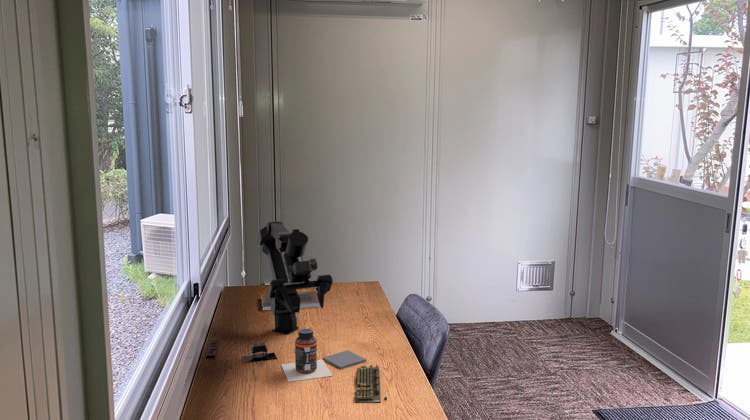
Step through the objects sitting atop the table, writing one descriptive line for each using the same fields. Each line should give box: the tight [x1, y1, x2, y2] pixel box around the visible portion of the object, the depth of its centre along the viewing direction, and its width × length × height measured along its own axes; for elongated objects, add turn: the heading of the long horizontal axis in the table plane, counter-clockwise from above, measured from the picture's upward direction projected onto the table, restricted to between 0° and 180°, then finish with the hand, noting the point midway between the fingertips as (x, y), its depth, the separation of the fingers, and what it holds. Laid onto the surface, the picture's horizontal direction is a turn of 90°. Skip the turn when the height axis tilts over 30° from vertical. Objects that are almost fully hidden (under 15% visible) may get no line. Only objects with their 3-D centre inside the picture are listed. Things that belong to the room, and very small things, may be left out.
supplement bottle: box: [294, 328, 318, 373], centre depth 168 cm, size 6×6×11 cm
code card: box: [281, 358, 333, 383], centre depth 169 cm, size 12×12×1 cm
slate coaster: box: [322, 350, 367, 370], centre depth 176 cm, size 9×9×1 cm
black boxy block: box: [242, 341, 278, 364], centre depth 178 cm, size 12×7×5 cm, turn 108°
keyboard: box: [354, 364, 389, 404], centre depth 160 cm, size 22×9×2 cm, turn 0°
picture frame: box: [260, 290, 321, 311], centre depth 233 cm, size 16×2×22 cm
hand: (307, 309), depth 176 cm, fingers open, 9 cm apart
